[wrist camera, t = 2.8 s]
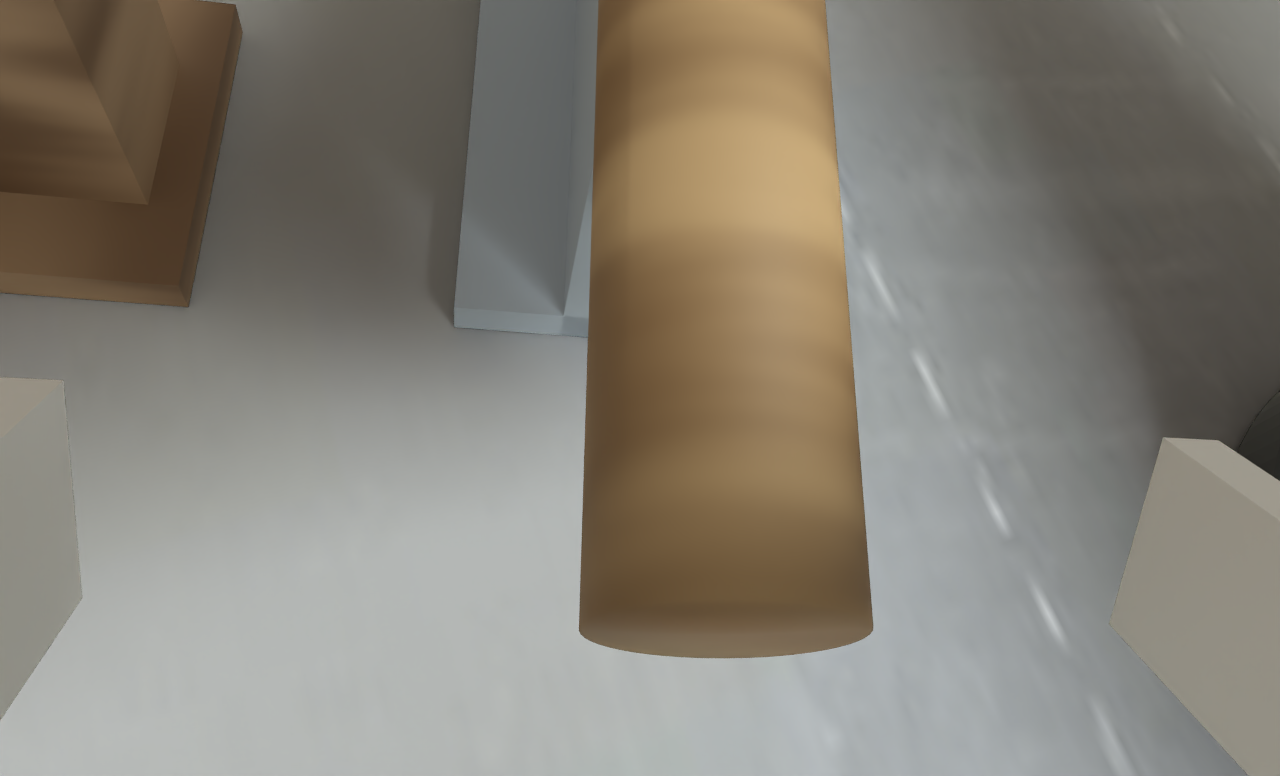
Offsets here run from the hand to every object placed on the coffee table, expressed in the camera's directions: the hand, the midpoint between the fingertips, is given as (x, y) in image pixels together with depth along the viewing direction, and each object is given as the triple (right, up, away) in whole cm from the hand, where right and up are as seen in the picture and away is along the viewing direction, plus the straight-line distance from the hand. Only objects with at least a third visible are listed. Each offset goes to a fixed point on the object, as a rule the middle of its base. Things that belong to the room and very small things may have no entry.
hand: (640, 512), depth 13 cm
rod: (+1, +8, +6) cm, 10 cm away
